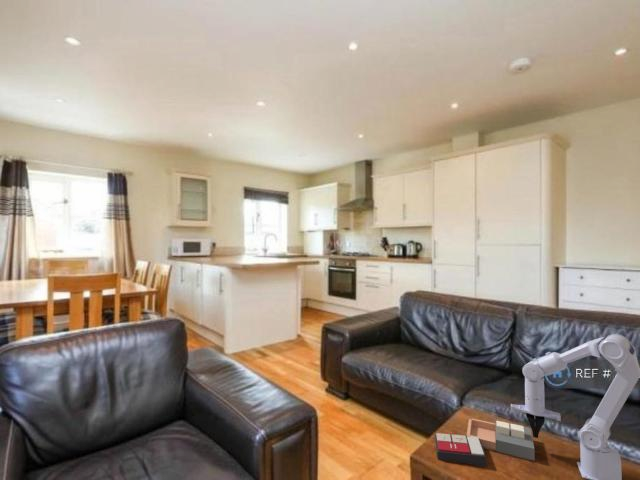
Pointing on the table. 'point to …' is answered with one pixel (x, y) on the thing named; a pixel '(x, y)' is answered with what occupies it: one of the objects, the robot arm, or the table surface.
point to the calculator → (460, 449)
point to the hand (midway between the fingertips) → (535, 436)
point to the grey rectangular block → (516, 444)
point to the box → (483, 433)
